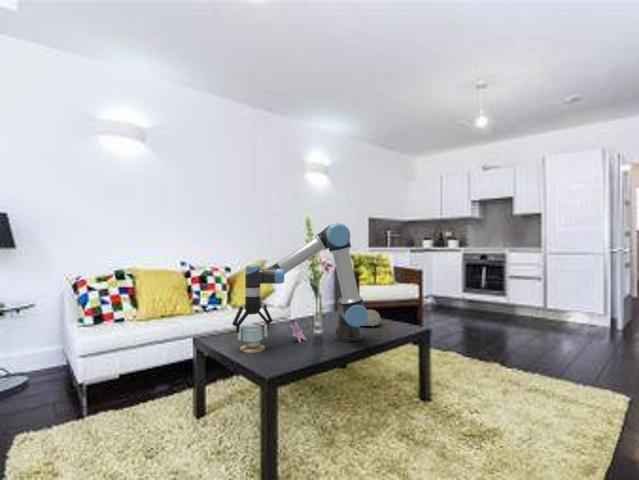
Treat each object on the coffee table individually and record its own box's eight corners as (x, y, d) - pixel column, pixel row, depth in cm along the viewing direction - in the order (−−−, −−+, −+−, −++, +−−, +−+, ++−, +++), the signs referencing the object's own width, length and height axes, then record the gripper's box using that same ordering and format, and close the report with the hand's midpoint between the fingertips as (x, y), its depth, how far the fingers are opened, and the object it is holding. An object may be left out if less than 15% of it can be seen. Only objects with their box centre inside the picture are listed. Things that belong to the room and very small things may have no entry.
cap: (246, 336, 191) (246, 325, 191) (263, 337, 190) (263, 325, 190) (241, 341, 182) (241, 329, 182) (259, 342, 181) (259, 329, 181)
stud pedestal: (269, 348, 187) (269, 330, 187) (253, 354, 177) (253, 335, 177) (252, 344, 194) (252, 327, 194) (235, 350, 184) (235, 332, 184)
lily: (288, 346, 194) (297, 331, 193) (278, 333, 203) (287, 319, 202) (305, 349, 202) (313, 334, 201) (294, 336, 211) (303, 322, 210)
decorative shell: (353, 328, 231) (353, 312, 231) (352, 322, 248) (352, 307, 248) (382, 328, 230) (382, 312, 230) (378, 322, 248) (378, 307, 248)
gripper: (229, 298, 177) (229, 342, 177) (278, 295, 188) (278, 336, 188) (226, 296, 184) (226, 339, 184) (273, 293, 195) (273, 333, 195)
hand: (252, 338), depth 186 cm, fingers open, 13 cm apart
